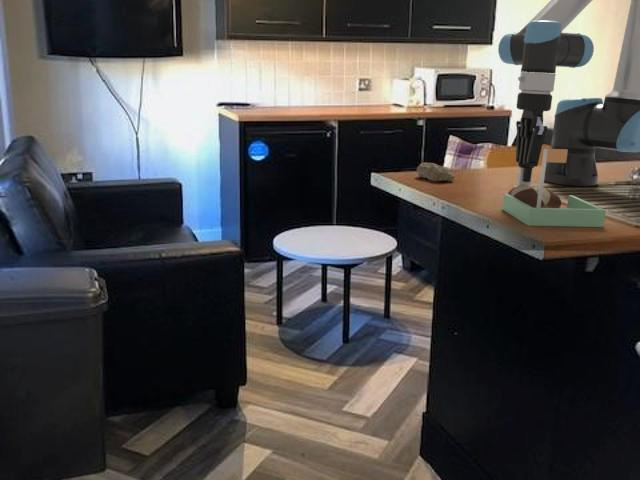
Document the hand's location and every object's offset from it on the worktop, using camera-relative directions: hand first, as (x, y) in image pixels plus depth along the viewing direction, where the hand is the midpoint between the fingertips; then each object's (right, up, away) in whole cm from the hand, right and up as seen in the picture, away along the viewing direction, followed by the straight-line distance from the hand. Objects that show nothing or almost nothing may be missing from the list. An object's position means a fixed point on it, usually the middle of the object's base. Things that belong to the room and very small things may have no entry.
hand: (522, 194), depth 160 cm
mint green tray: (+2, -6, -15) cm, 16 cm away
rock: (-16, +6, +27) cm, 32 cm away
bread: (+1, -4, -5) cm, 7 cm away
